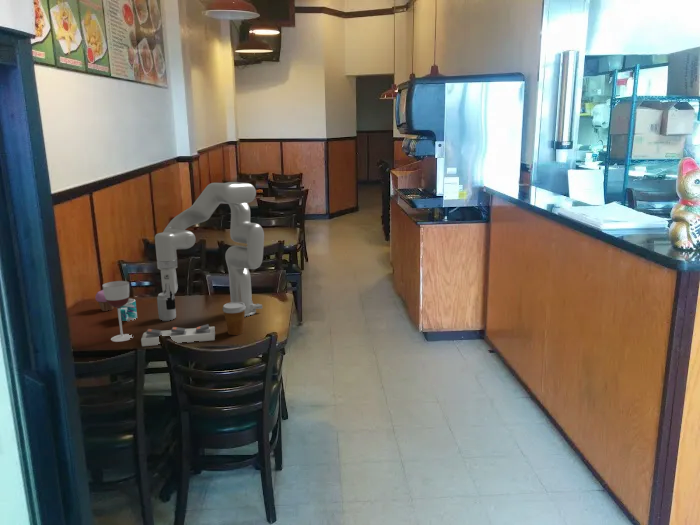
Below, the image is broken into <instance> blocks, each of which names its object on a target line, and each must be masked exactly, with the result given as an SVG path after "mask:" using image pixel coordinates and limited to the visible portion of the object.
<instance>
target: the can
mask: <svg viewBox="0 0 700 525" xmlns="http://www.w3.org/2000/svg"><path fill="white" fill-rule="evenodd" d="M174 299H175V300H176V297H174ZM156 301H157V312H158V319H159V320H160V321H161V320H162V322H170V320H171V321H173V319H174V320H175V318H177V310H176V307H175V309H172V310H167V307H166V294H163V292H160V293H158V294H157V296H156Z"/></svg>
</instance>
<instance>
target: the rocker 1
mask: <svg viewBox="0 0 700 525" xmlns="http://www.w3.org/2000/svg"><path fill="white" fill-rule="evenodd" d="M161 331H162V330H161V329H153V328H152V329H151V328H147V330H146V332H147V333H146V334H152V335H160V333H161Z"/></svg>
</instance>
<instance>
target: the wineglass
mask: <svg viewBox="0 0 700 525" xmlns="http://www.w3.org/2000/svg"><path fill="white" fill-rule="evenodd" d="M102 290H103V291H104V295H105V298H106V301H107V303H108V304H109V305H111V306H113V308H115V309H117V308H118V310H117V317H119V319H118V324H119V334H117V335H114V336H112V337H111V338H110V340H111V341H112V342H115V343H118V342H126V341H129V340H131V339H130V338H132V339H133V338H134V336H133V337H132V335H133V334H131V335H129V334H130V333H124V331H123V322H122V321H121V314H120V307H122V306H124V305H125V304H126V303H127V302H128V300H129V299H130V282H129V281H126V280H115V281H109V282H106V283H103V284H102Z"/></svg>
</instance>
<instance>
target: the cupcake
mask: <svg viewBox="0 0 700 525" xmlns="http://www.w3.org/2000/svg"><path fill="white" fill-rule="evenodd" d="M95 301H96V302H97V303H98V304H99V307H100V309H101V311H103V312H106V311H108V310H109V311H112V310H114V307H113V306H111V305H109V304H108V303H107V301H106V298H105V295H104V291H103V289H101V290H100V291H97V292H96V294H95Z"/></svg>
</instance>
